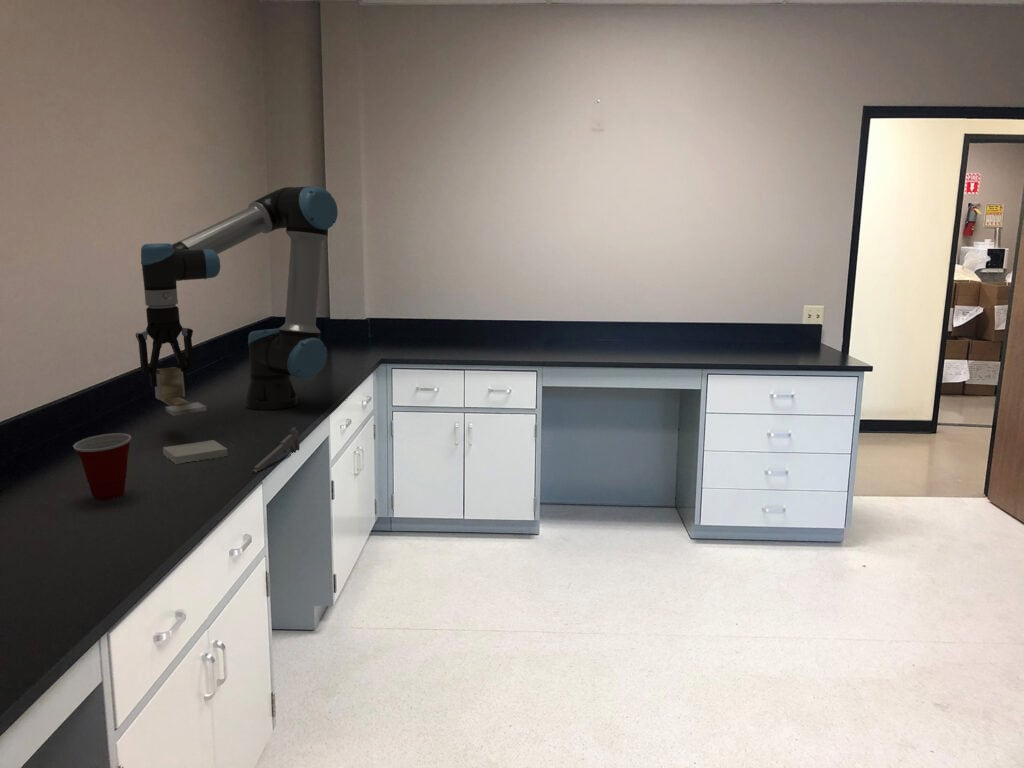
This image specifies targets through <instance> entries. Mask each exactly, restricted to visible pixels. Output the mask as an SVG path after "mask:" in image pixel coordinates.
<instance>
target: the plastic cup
mask: <svg viewBox="0 0 1024 768" xmlns="http://www.w3.org/2000/svg"><path fill="white" fill-rule="evenodd" d="M131 440H132V436H131V435H130V434H127V433H117V432H116V433H114V432H113V433H105V434H99V435H98V434H97V435H94V436H89V437H86V438H83V439H81V440H78V441H77V442H74V444H73V445H72V447H73V449H74V451H76V452H77V454H78V456H79V459H80V461H81V463H82V467H83V471H84V474H85V476H86V480H87V483H88V485H89V486H88V487H89V490H90V492H91V496H92V498H93V499H94V500H96V501H109V500H108V499H111V500H114V499H113V498H115V499H118V498H117V497H119V498H121V497H123V496H124V493H125V487H126V479H127V471H128V470H127V469H128V459H129V451H130V449H129V448H130V443H131ZM122 495H123V496H122ZM120 496H121V497H120Z"/></svg>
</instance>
